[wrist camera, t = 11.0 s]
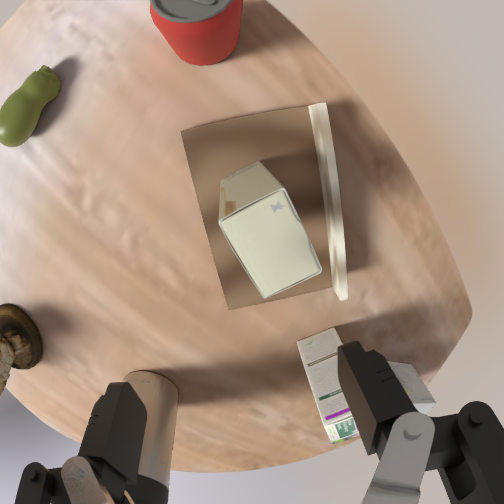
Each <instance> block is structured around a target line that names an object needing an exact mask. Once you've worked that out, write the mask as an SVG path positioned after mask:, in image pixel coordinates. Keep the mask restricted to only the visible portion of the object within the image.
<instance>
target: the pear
mask: <svg viewBox="0 0 504 504" xmlns="http://www.w3.org/2000/svg"><path fill="white" fill-rule="evenodd" d="M60 88H61V81H60V80H59V76H58V75H56V74H55V73H53V71H52V70H51V69H50V68H49V67H47V66H45V65H44V66H42V67H41V68H40V70H38V71H37V72H36V71H34V72H33V73H32V74H31V75H30V76H29V77H28V78H27V79H26V80H25V82H24V83H23V85H22V86H21V87H20V88H19V89H18V90H16V91H15V92H14V93H13V94H11V95H10V96H9V97H8V99H7V100H6V101H5V103H4V104H3V106H2V107H1V109H0V142H1V143H2V144H3V145H5V146H8V147H16V146H19V145H21V144H23V143H24V142H25V141H27V140H28V138H29V137H30V136H31V135H32V133H33V131H34V129H35V127H36V125H37V123H38V120H39V117H40V114H41V111H42V109H43V108H44V106H45V105H46V104H47V103H48V102H49V101H51V100H53V99H54V98H56V96H57V95H58V93H59V89H60Z"/></svg>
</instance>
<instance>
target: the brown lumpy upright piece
mask: <svg viewBox="0 0 504 504" xmlns="http://www.w3.org/2000/svg"><path fill="white" fill-rule="evenodd" d="M41 355H42V341H41V336H40V334H39V333H38V329H37V327H36V325H35V324H34V322H33V321H32V320H31V319H30V317H29V316H28V315H27V314H26V313H25V312H24V311H23V310H21V309H20V308H18V307H17V306H15V305H12V304H4V305H1V306H0V395H1V392H2V391H3V390H4V387H5V386H6V382H7V379H8V378H9V376H10V374H9V372H10V369H11V367H13V368H16V369H30V368H32V367H34V366H35V365H36V364H37V363H38V361H39V360H40V358H41Z"/></svg>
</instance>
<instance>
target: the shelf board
mask: <svg viewBox="0 0 504 504" xmlns="http://www.w3.org/2000/svg"><path fill="white" fill-rule="evenodd" d="M181 135H182V139H183V143H184V147H185V151H186V156H187V160H188V164H189V168H190V172H191V176H192V180H193V183H194V187H195V191H196V195H197V199H198V203H199V207H200V210H201V214H202V218H203V222H204V225H205V229H206V233H207V236H208V240H209V243H210V247H211V251H212V254H213V258H214V261H215V265H216V268H217V272H218V275H219V278H220V282H221V285H222V289H223V292H224V295H225V299H226V302H227V305H228V309H229V310H232V309H237V308H242V307H247V306H252V305H257V304H261V303H266V302H271V301H275V300H280V299H284V298H288V297H293V296H297V295H301V294H306V293H310V292H314V291H318V290H322V289H326V288H330V287H333V289H334V290H335V292H336V294H337V295H338V297H339V299H340V300H341V301H342V300H346V299H348V295H347V272H346V255H345V241H344V229H343V218H342V208H341V199H340V185H339V177H338V170H337V162H336V159H335V153H334V146H333V140H332V134H331V128H330V122H329V116H328V111H327V106H326V103H317V104H313V105H310V106H303V107H296V108H289V109H282V110H276V111H270V112H264V113H258V114H253V115H248V116H243V117H238V118H233V119H228V120H224V121H219V122H215V123H211V124H206V125H202V126H198V127H194V128H191V129H187V130H183V131H181ZM257 161H260V162H261V163H262V164H263V165H264V166H265V168H266V169H267V170H268V171H269V172H270V173H271V174H272V175H273V176H274V177H275V178H276V179H277V180H278V181H279V182H280V183H281V185H282V186H283V187H284V188H285V189H286V191H287V194H288V196H289V198H290V200H291V202H292V204H293V206H294V208H295V210H296V212H297V214H298V216H299V218H300V220H301V222H302V225H303V227H304V229H305V231H306V233H307V235H308V237H309V240H310V242H311V244H312V246H313V249H314V251H315V253H316V255H317V258H318V260H319V263H320V265H321V267H322V272H321V273H320V274H318V275H316V276H314V277H312V278H310V279H308V280H306V281H303V282H301V283H299V284H297V285H295V286H293V287H290V288H288V289H286V290H283V291H281V292H279V293H277V294H274V295H272V296H270V297H268V298H263V297H262V295H261V294H260V292H259V291H258V289H257V288H256V286H255V285H254V283H253V282H252V280H251V279H250V277H249V276H248V274H247V273H246V271H245V269H244V268H243V266H242V264H241V263H240V261H239V260H238V258H237V256H236V255H235V253H234V251H233V250H232V248H231V246H230V244H229V243H228V241H227V239H226V237H225V235H224V233H223V231H222V229H221V227H220V226H219V222H218V221H219V206H220V184H221V180H222V179H224V178H226V177H227V176H229V175H231V174H233V173H235V172H236V171H238V170H240V169H242V168H245V167H247V166H249V165H251V164H253V163H255V162H257Z"/></svg>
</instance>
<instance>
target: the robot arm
mask: <svg viewBox="0 0 504 504" xmlns="http://www.w3.org/2000/svg"><path fill="white" fill-rule="evenodd" d="M337 360H338V380H339V384H340V387H341V389H342V392H343V394H344V397H345V399H346V402H347V404H348V406H349V409H350V411H351V414H352V416H353V419H354V421H355V424H356V426H357V429H358V431H359V434H360V436H361V439H362V441H363V443H364V446H365V449H366V451H367V454H368V455H371V454H374V453H377V455H378V458H379V460H380V462H379V464H378V467H377V469H376V471H375V474H374V476H373V479H372V481H371V483H370V485H369V488H368V490H367V492H366V494H365V497H364V498H363V501H362V503H361V504H418V502H419V498H420V485H421V481H422V478H423V475H424V472H425V471H429V470H434V469H438V472H439V474H440V477H441V479H442V482H443V484H444V487H445V489H446V492H447V495H448V497H449V500H450V502H451V504H504V428H503V427H502V425H501V423H500V422H499V420H498V418H497V417H496V415H495V414H494V412H493V410H492V409H491V408H490V406H488V405H487V404H486V403H483V402H479V401H474V402H470V403H468V404H466V405H465V406H464V407H463V408H462V409H461V410H460V412H459V413H458V414H453V415H447V416H442V417H429V416H427V415H426V414H423V413H420V412H419V411H418V410H417V409H416V408H415V406H414V405H413V403H412V401H411V400H410V398H409V396H408V395H407V393H406V391H405V390H404V388H403V386H402V385H401V383H400V381H399V380H398V378H396V375H395V373H394V371H393V370H392V369H391V367H390V365H389V363H388V362H387V360H386V359H385V357H384V356H382V355H381V354H379V353H378V352H376V351H375V350H371V351H368V352H365V351H364V349H363V348H362V346H361V344H360V343H359V341H354V342H350V343H347V344H343V345H340V346H338V348H337ZM178 395H179V393H178V390H177V388H176V386H175V385H174V384H173V383H172V382H171V381H169V380H168V379H167V378H165V377H163V376H161V375H158V374H156V373H152V372H146V371H137V372H132V373H130V374H128V375H127V376H126V377H125V378H124V380H123V382H115V383H110V384H109V385H108V387H107V390H106V393H105V395H102V396H101V397H100V398H99V400H98V401H97V402H96V403H95V405H94V407H93V410H92V413H91V417H90V419H89V422H88V424H89V425H87V428H86V431H85V434H84V437H83V440H82V443H81V447H80V450H79V453H78V456H75V457H72V458H70V459H68V460H67V461H66V462H65V463H64V465H63V466H62V467H61V468H54V469H46V468H45V467H44V466H43V465H41V464H40V463H38V462H33V463H30V464H28V465H27V466H26V467H25V469H24V471H23V474H22V477H21V480H20V484H19V488H18V492H17V496H16V500H15V504H50V503H51V504H167V503H168V492H169V479H170V467H171V456H172V450H173V444H174V434H175V425H176V416H177V408H178V404H177V403H178Z"/></svg>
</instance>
